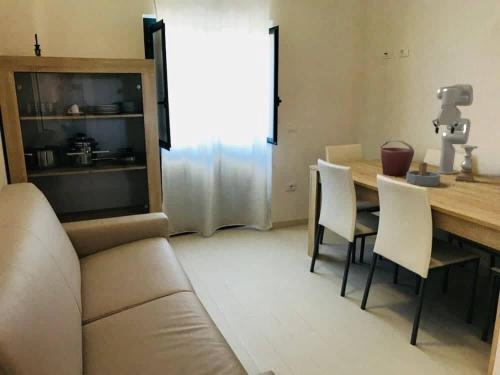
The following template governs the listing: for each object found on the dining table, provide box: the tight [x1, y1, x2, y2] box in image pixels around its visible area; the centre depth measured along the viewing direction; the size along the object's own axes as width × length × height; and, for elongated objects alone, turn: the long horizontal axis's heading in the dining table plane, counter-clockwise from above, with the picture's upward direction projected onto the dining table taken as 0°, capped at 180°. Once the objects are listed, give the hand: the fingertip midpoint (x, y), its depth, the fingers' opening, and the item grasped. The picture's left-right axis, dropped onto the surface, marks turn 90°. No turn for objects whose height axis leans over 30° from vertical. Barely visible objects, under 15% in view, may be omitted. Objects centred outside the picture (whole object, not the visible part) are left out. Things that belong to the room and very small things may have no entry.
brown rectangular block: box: [418, 161, 428, 176], centre depth 262 cm, size 6×3×12 cm, turn 174°
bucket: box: [380, 140, 415, 178], centre depth 286 cm, size 24×22×25 cm
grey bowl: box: [405, 169, 441, 187], centre depth 261 cm, size 20×20×6 cm
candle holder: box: [454, 144, 478, 183], centre depth 267 cm, size 11×11×24 cm
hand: (444, 133), depth 262 cm, fingers open, 9 cm apart
